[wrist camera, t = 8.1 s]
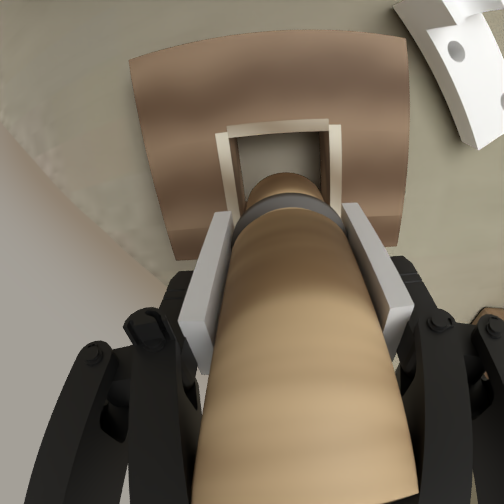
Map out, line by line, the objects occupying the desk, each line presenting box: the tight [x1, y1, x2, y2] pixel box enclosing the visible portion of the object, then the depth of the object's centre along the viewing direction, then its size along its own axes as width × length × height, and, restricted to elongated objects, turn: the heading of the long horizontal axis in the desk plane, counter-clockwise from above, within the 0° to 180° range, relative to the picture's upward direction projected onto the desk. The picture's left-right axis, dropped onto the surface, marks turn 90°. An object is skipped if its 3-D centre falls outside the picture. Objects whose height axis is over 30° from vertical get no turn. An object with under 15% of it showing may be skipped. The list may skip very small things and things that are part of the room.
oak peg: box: [191, 173, 419, 504], centre depth 10 cm, size 5×5×14 cm
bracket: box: [392, 0, 504, 150], centre depth 12 cm, size 13×7×8 cm, turn 37°
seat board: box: [129, 30, 410, 261], centre depth 19 cm, size 16×18×4 cm
